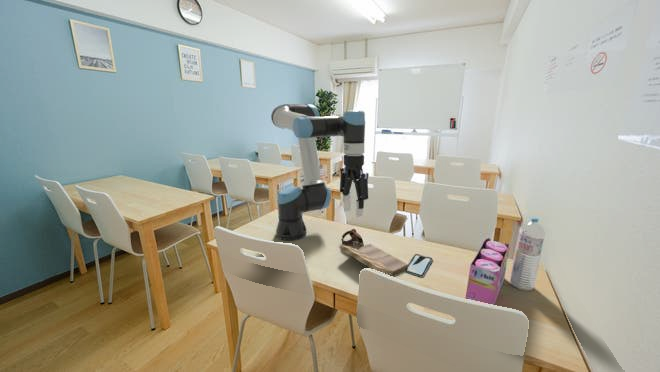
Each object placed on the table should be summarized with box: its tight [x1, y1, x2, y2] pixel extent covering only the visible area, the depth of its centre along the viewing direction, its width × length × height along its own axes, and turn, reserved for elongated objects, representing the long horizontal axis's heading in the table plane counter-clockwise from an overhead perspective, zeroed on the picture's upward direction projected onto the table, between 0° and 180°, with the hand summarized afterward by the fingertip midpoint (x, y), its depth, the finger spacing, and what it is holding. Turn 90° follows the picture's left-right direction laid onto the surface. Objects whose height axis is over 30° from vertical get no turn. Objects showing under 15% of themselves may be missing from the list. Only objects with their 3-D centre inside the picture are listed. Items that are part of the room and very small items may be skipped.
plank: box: [339, 244, 394, 276], centre depth 105 cm, size 21×10×2 cm, turn 36°
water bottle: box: [509, 217, 546, 292], centre depth 90 cm, size 7×7×25 cm
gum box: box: [465, 238, 511, 306], centre depth 91 cm, size 24×8×14 cm, turn 140°
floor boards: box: [356, 243, 409, 276], centre depth 111 cm, size 21×8×2 cm, turn 36°
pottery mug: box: [340, 228, 365, 247], centre depth 123 cm, size 12×10×8 cm
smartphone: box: [403, 253, 433, 278], centre depth 106 cm, size 7×1×15 cm
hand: (353, 213), depth 104 cm, fingers open, 6 cm apart
